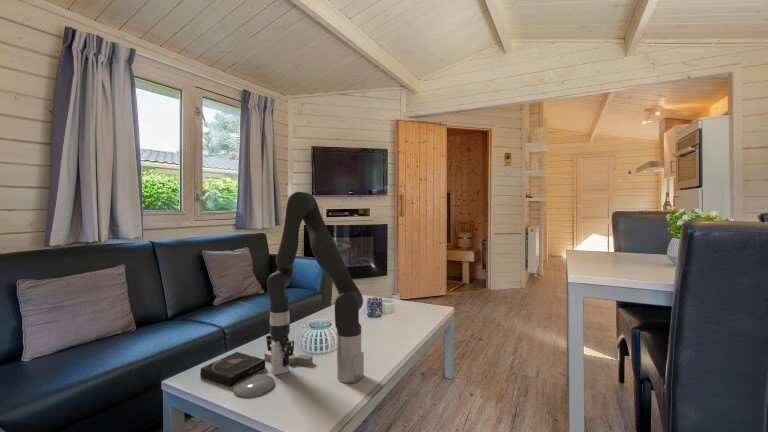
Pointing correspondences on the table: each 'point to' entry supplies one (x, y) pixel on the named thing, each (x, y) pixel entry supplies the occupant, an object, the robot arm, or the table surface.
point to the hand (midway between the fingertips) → (280, 363)
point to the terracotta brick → (268, 356)
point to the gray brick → (304, 360)
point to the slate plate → (253, 385)
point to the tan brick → (292, 359)
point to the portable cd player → (232, 368)
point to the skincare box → (277, 359)
